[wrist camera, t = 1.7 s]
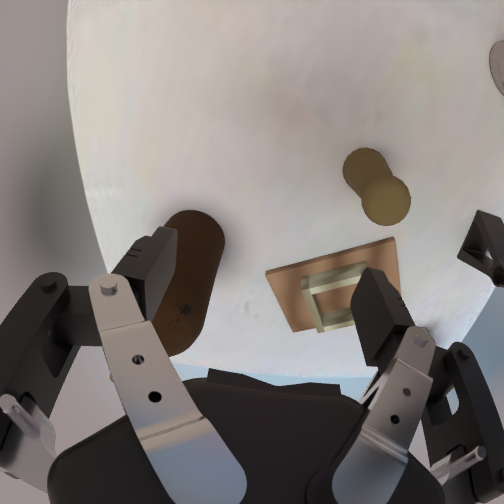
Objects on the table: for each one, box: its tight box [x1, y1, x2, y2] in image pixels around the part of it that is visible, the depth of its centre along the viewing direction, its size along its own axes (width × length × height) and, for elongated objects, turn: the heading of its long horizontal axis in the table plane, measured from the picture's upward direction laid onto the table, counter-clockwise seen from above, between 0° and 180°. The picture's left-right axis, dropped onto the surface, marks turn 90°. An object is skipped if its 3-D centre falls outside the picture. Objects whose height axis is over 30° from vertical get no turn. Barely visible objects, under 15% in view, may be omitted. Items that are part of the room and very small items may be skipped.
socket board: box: [265, 237, 401, 333], centre depth 43 cm, size 20×14×4 cm
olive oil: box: [110, 210, 225, 383], centre depth 32 cm, size 11×11×25 cm
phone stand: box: [457, 211, 504, 287], centre depth 31 cm, size 9×6×12 cm, turn 174°
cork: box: [343, 148, 411, 226], centre depth 29 cm, size 6×6×11 cm
